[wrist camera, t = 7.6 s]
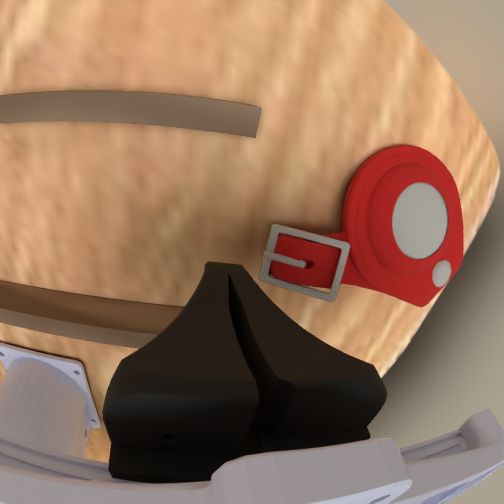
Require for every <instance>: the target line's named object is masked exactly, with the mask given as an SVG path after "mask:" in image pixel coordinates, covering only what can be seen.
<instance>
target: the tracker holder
mask: <svg viewBox="0 0 504 504" xmlns="http://www.w3.org/2000/svg"><path fill="white" fill-rule="evenodd" d="M342 225H343V230H342V232H340V233H335V234H327V235H317V234H314V233H310V232H306V231H302V230H298V229H294V228H290V227H286V226H282V225H278V224H273V225H272V227H271V231H270V235H269V239H268V242H267V246H266V250H265V251H264V252H263V256H264V258H263V261H262V265H261V269H260V273H259V276H258V278H259V280H260V281H263V282H266V283H269V284H272V285H275V286H279V287H282V288H285V289H289V290H292V291H295V292H298V293H302V294H305V295H308V296H312V297H315V298H318V299H322V300H325V301H328V302H334V301H335V299H336V296H337V292H338V289H339V285H340V284H341V283H343V284H349V285H355V286H359V287H363V288H367V289H371V290H375V291H379V292H382V293H385V294H388V295H390V296H393V297H396V298H398V299H400V300H403V301H405V302H408V303H410V304H413V305H415V306H419V307H424V306H425V305H427V304H428V303H429V302H430V301H431V300H432V299H433V298H434V297H435V295H436V294H437V293H438V292H439V291H440V290H441V289H442V288H443V287H444V286H445V285H446V283H447V282H448V281H449V280H450V279H451V278H452V277H453V276H454V274H455V273H456V272H457V270H458V269H459V267H460V265H461V264H462V259H463V219H462V210H461V204H460V199H459V193H458V190H457V186H456V183H455V181H454V179H453V176H452V175H451V173H450V172H449V170H448V169H447V168H446V166H445V165H444V164H443V163H442V162H441V161H440V160H439V159H438V158H437V157H436V156H434V155H433V154H432V153H430V152H429V151H427V150H424V149H422V148H419V147H415V146H410V145H400V146H394V147H390V148H387V149H384V150H382V151H379V152H377V153H375V154H374V155H373V156H371V157H370V158H368V159H367V160H366V161H365V162H364V163H363V165H362V166H361V167H360V168H359V169H358V171H357V172H356V174H355V176H354V177H353V179H352V180H351V183H350V185H349V188H348V190H347V193H346V197H345V200H344V207H343V216H342ZM282 233H285V234H289V235H282ZM290 235H293V236H290ZM270 274H271V275H273V276H274V277H272V276H271V275H270ZM295 283H296V284H295ZM299 284H301V285H299ZM302 285H306V286H313V287H320V288H328V289H331V292H330V293H326V292H322V291H319V290H316V289H312V288H309V287H306V286H302Z"/></svg>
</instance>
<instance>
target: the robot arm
mask: <svg viewBox="0 0 504 504" xmlns="http://www.w3.org/2000/svg"><path fill="white" fill-rule="evenodd" d="M0 359H1V361H2V363H3V366H4V368H5V370H6V374H5V376H4V379H3V381H2V383H1V385H0V504H443V503H445V502H447V501H449V500H451V499H453V498H455V497H456V496H458V495H460V494H462V493H463V492H465V491H467V490H469V489H470V488H472V487H474V486H475V485H477V484H478V483H479V482H481V481H482V480H484V479H485V478H486V477H488V476H489V475H490V474H492V473H493V472H494V471H495V470H497V469H498V468H499V467H500V466H502V465H503V464H504V431H503V429H502V428H501V426H500V424H499V423H498V422H497V420H496V418H495V416H494V415H493V413H492V412H491V410H490V409H487V410H485V411H482V412H480V413H477V414H475V415H473V416H472V417H470V418H469V419H467V420H466V421H465V422H464V423H463V424H462V426H461V427H460V428H459V429H458V430H456V431H453V432H451V433H448V434H445V435H442V436H440V437H436V438H434V439H431V440H428V441H424V442H421V443H418V444H415V445H412V446H408V447H405V448H401V449H399V448H398V446H397V444H396V443H395V442H394V441H393V439H390V438H376V439H369V438H370V433H369V431H368V428H367V426H368V425H369V423H370V422H371V421H372V420H373V419H374V417H375V416H376V415H377V413H378V412H379V411H380V410H381V408H382V406H383V405H384V403H385V401H386V398H387V391H386V387H385V385H384V383H383V382H382V380H381V378H380V376H379V374H378V372H377V370H376V368H375V367H374V365H372V364H369V363H367V362H364V361H362V360H360V359H357V358H355V357H352V356H350V355H348V354H345V353H343V352H342V351H340V350H338V349H336V348H334V347H332V346H330V345H328V344H327V343H325V342H323V341H321V340H320V339H318V338H317V337H315V336H314V335H312V334H311V333H309V332H308V331H306V330H305V329H303V328H302V327H301V326H299V325H298V324H297V323H296V322H294V321H293V320H292V319H291V318H290V317H288V316H287V315H286V314H285V313H284V312H283V311H282V310H281V309H280V308H278V307H277V306H276V305H275V304H274V303H273V302H272V301H271V299H270V298H269V297H268V296H267V295H266V294H265V293H264V292H263V291H262V289H261V288H260V287H259V286H258V285H257V284H256V282H255V281H254V280H253V279H252V277H251V276H250V275H249V273H248V272H247V271H246V270H245V268H244V267H243V266H242V265H238V264H228V263H218V262H207V263H206V264H205V270H204V274H203V277H202V279H201V281H200V283H199V285H198V287H197V289H196V291H195V292H194V294H193V295H192V297H191V298H190V300H189V302H188V303H187V304H186V306H185V307H184V308H183V310H182V311H181V312H180V313H179V315H178V316H177V317H176V318H175V319H174V320H173V321H172V322H171V323H170V324H169V325H168V326H167V327H166V328H165V329H164V330H163V331H162V332H161V333H160V334H159V335H157V336H156V337H155V338H154V339H152V340H151V341H150V342H149V343H147V344H146V345H145V346H143V347H142V348H140V349H139V350H137V351H135V352H134V353H132V354H131V355H129V356H127V357H126V358H124V359H122V360H121V362H120V364H119V366H118V367H117V369H116V371H115V373H114V375H113V377H112V379H111V382H110V384H109V387H108V390H107V393H106V397H105V401H104V406H103V411H102V412H103V421H104V424H105V427H106V430H107V432H108V435H109V438H110V441H111V450H110V458H109V463H105V462H99V461H94V460H89V459H85V454H86V448H87V443H88V437H89V432H90V427H91V428H97V429H99V428H101V422H100V419H99V417H98V414H97V411H96V408H95V405H94V401H93V398H92V395H91V392H90V389H89V385H88V382H87V378H86V375H85V371H84V367H83V365H82V363H81V362H79V361H77V360H72V359H67V358H62V357H57V356H53V355H48V354H44V353H39V352H35V351H31V350H27V349H23V348H19V347H15V346H12V345H8V344H4V343H1V342H0Z"/></svg>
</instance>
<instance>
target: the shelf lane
mask: <svg viewBox="0 0 504 504" xmlns="http://www.w3.org/2000/svg"><path fill="white" fill-rule="evenodd" d="M260 113H261V108H260V107H257V106H254V105H250V104H244V103H238V102H232V101H225V100H218V99H211V98H203V97H195V96H186V95H177V94H166V93H153V92H137V91H110V90H72V91H47V92H32V93H20V94H10V95H2V96H0V123H14V122H38V121H90V122H116V123H133V124H147V125H159V126H170V127H179V128H189V129H197V130H205V131H213V132H220V133H227V134H234V135H240V136H246V137H252V138H256V133H257V128H258V123H259V118H260ZM183 308H184V307H175V306H165V305H156V304H147V303H139V302H131V301H123V300H115V299H108V298H101V297H94V296H87V295H80V294H73V293H67V292H61V291H55V290H49V289H43V288H37V287H31V286H26V285H20V284H15V283H10V282H5V281H0V322H1V323H5V324H9V325H13V326H17V327H22V328H26V329H30V330H35V331H39V332H44V333H49V334H54V335H59V336H64V337H69V338H75V339H80V340H86V341H92V342H98V343H104V344H111V345H118V346H125V347H133V348H142V347H143V346H145V345H146V344H147V343H149V342H150V341H151V340H152V339H154V338H155V337H156V336H157V335H159V334H160V333H161V332H162V331H163V330H164V329H165V328H166V327H167V326H168V325H169V324H170V323H171V322H172V321H173V320H174V319H175V318H176V317H177V316H178V315H179V313H180V312H181V311H182V310H183Z"/></svg>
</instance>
